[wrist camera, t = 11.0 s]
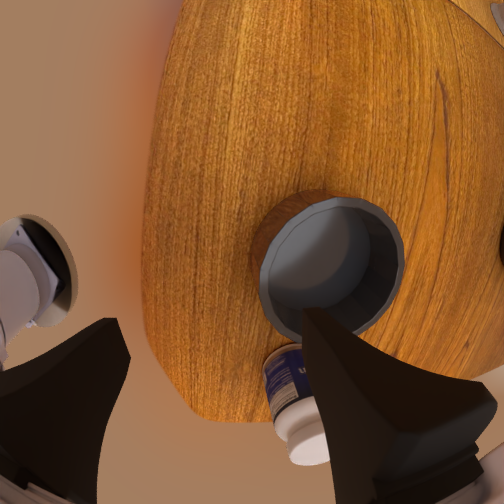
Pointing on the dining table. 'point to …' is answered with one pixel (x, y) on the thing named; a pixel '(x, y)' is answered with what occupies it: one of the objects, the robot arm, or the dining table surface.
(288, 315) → the bowl
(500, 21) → the glass holder
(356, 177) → the dining table surface
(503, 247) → the jar
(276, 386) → the pill bottle
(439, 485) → the robot arm
